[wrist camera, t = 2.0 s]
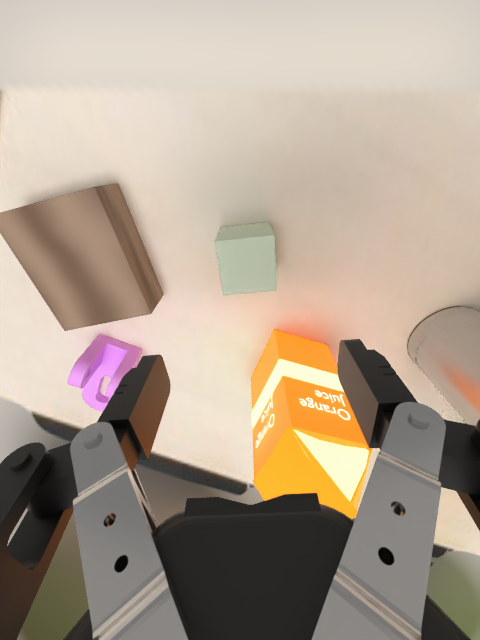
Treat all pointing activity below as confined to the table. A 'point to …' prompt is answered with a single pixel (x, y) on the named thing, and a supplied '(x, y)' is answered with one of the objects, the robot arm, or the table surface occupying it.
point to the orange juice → (305, 426)
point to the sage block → (246, 258)
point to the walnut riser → (84, 256)
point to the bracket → (102, 369)
